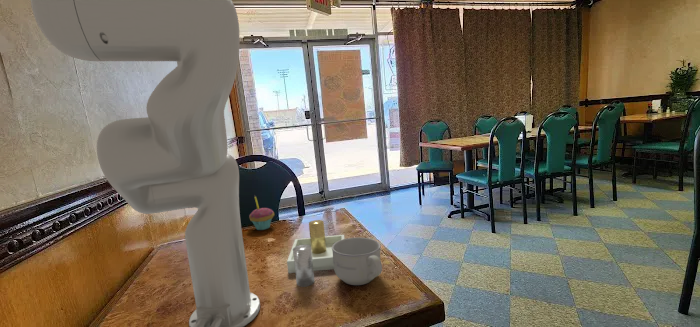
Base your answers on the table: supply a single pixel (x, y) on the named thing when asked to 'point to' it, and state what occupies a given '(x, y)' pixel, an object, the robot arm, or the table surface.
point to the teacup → (357, 260)
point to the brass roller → (317, 236)
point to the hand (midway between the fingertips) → (209, 160)
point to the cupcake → (261, 217)
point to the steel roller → (303, 265)
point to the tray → (319, 260)
